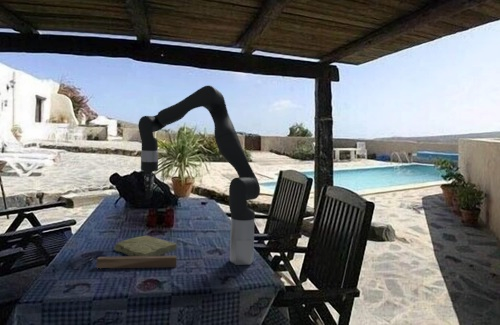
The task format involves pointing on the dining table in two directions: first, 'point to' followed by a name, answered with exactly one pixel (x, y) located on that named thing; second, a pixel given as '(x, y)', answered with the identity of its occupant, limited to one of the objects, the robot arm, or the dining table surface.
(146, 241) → the olive stone slab
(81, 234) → the dining table surface
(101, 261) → the walnut rail
